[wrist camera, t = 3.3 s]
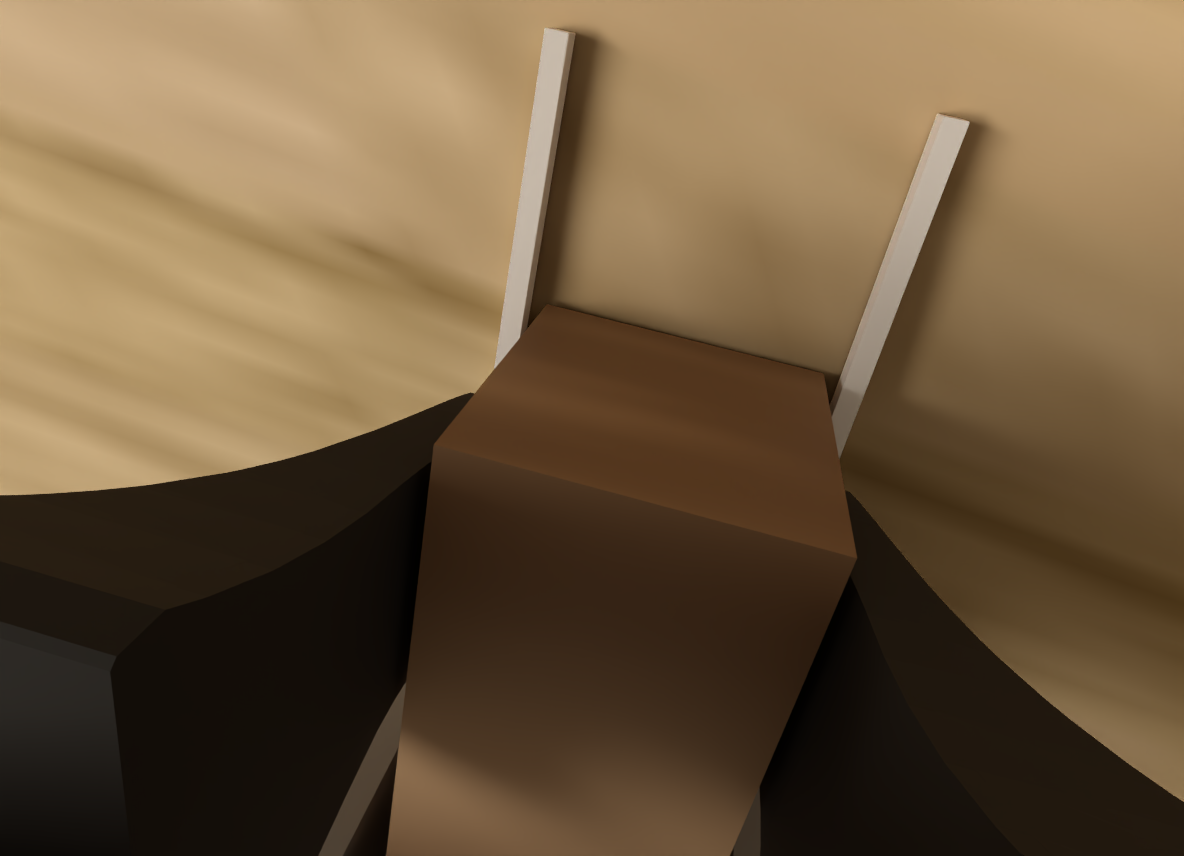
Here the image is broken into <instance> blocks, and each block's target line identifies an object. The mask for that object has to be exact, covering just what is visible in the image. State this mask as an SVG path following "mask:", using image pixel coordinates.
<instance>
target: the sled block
mask: <svg viewBox="0 0 1184 856" xmlns="http://www.w3.org/2000/svg"><path fill="white" fill-rule="evenodd" d="M856 560H857V555H856V549H855V544H854V538H853V533H852V527H851V522H850V516H849V511H848V505H847V500H846V494H845V489H844V483H843V478H842V472H841V467H840V461H839V456H838V450H837V445H836V439H835V434H834V428H833V423H832V417H831V412H830V406H829V401H828V395H827V389H826V384H825V378H824V373H820V372H816V371H812V370H808V369H804V368H800V367H796V366H792V365H788V364H784V363H780V362H776V361H772V360H768V359H764V358H760V357H756V356H752V355H748V354H744V353H740V352H736V351H732V350H728V349H724V348H720V347H716V346H712V345H708V344H704V343H700V342H696V341H692V340H688V339H684V338H680V337H676V336H672V335H668V334H664V333H660V332H656V331H652V330H648V329H644V328H640V327H636V326H632V325H628V324H624V323H620V322H616V321H612V320H608V319H604V318H600V317H596V316H592V315H588V314H584V313H580V312H576V311H572V310H568V309H564V308H560V307H556V306H552V305H548V304H547V305H546V306H545V307H544V308H543V310H542V311H541V312H540V313H539V315H538V316H537V317H536V318H535V320H534V321H533V322H532V323H531V325H530V326H529V327H528V328H527V330H526V331H525V332H524V333H523V335H522V336H521V337H520V338H519V339H518V341H517V342H516V343H515V344H514V346H513V347H512V348H511V349H510V351H509V352H508V353H507V354H506V356H505V357H504V358H503V359H502V361H501V362H500V363H499V364H498V366H497V367H496V368H495V369H494V370H493V372H492V373H491V374H490V375H489V377H488V378H487V379H486V380H485V382H484V383H483V384H482V385H481V387H480V388H479V389H478V390H477V392H476V393H475V394H474V395H473V397H472V398H471V399H470V400H469V401H468V403H467V404H466V405H465V406H464V408H463V409H462V410H461V411H460V413H459V414H458V415H457V416H456V418H455V419H454V420H453V421H452V423H451V424H450V425H449V426H448V427H447V429H446V430H445V431H444V432H443V434H442V435H441V436H440V437H439V439H438V440H437V441H436V442H435V444H434V447H433V455H432V464H431V473H430V481H429V490H428V499H427V507H426V516H425V524H424V533H423V542H422V550H421V559H420V568H419V576H418V585H417V594H416V602H415V611H414V619H413V628H412V637H411V645H410V654H409V663H408V671H407V680H406V688H405V697H404V706H403V714H402V723H401V732H400V740H399V749H398V757H397V766H396V775H395V783H394V792H393V801H392V809H391V818H390V826H389V835H388V844H387V852H386V856H730V854H731V852H732V850H733V847H734V845H735V843H736V840H737V838H738V836H739V833H740V831H741V829H742V826H743V824H744V822H745V819H746V817H747V815H748V812H749V810H750V808H751V805H752V803H753V801H754V798H755V796H756V794H757V791H758V789H759V787H760V784H761V782H762V779H763V777H764V775H765V772H766V770H767V768H768V765H769V763H770V761H771V758H772V756H773V754H774V751H775V749H776V747H777V744H778V742H779V740H780V737H781V735H782V733H783V730H784V728H785V726H786V723H787V721H788V719H789V716H790V714H791V712H792V709H793V707H794V705H795V702H796V700H797V698H798V695H799V693H800V691H801V688H802V686H803V684H804V681H805V679H806V677H807V674H808V672H809V670H810V667H811V665H812V663H813V660H814V658H815V656H816V653H817V651H818V649H819V646H820V644H821V642H822V639H823V637H824V634H825V632H826V630H827V627H828V625H829V623H830V620H831V618H832V616H833V613H834V611H835V609H836V606H837V604H838V602H839V599H840V597H841V595H842V592H843V590H844V588H845V585H846V583H847V581H848V578H849V576H850V574H851V571H852V569H853V567H854V564H855V562H856Z"/></svg>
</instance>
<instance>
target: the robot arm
mask: <svg viewBox="0 0 1184 856" xmlns="http://www.w3.org/2000/svg"><path fill="white" fill-rule="evenodd" d="M473 395H474V393H468V394H465V395H461V396H459V397H456V398H453V399H451V400H448V401H446V402H443V403H441V404H438V405H436V406H434V407H431V408H429V409H426V410H424V411H422V412H419V413H417V414H414V415H412V416H409V417H407V418H404V419H402V420H399V421H397V422H395V423H392V424H390V425H387V426H385V427H382V428H380V429H377V430H374V431H372V432H369V433H366V434H363V435H360V436H357V437H354V438H351V439H348V440H345V441H342V442H340V443H337V444H334V445H331V446H328V447H325V448H322V449H319V450H316V451H313V452H310V453H306V454H303V455H299V456H296V457H292V458H288V459H285V460H281V461H277V462H273V463H268V464H264V465H260V466H256V467H251V468H247V469H243V470H238V471H233V472H228V473H222V474H216V475H210V476H204V477H197V478H191V479H185V480H178V481H172V482H166V483H160V484H153V485H146V486H137V487H127V488H117V489H107V490H97V491H83V492H68V493H54V494H35V495H0V856H319V853H320V851H321V849H322V847H323V845H324V843H325V840H326V838H327V836H328V834H329V832H330V830H331V827H332V825H333V823H334V821H335V819H336V817H337V815H338V812H339V810H340V808H341V806H342V804H343V802H344V799H345V797H346V795H347V793H348V791H349V789H350V787H351V785H352V783H353V781H354V778H355V776H356V774H357V772H358V770H359V768H360V766H361V764H362V762H363V760H364V758H365V756H366V754H367V751H368V749H369V747H370V745H371V743H372V741H373V739H374V737H375V735H376V733H377V731H378V729H379V727H380V725H381V724H382V722H383V720H384V718H385V716H386V715H387V713H388V711H389V709H390V707H391V706H392V704H393V702H394V700H395V699H396V697H397V696H398V694H399V692H400V691H401V689H402V687H403V686H404V684H405V683H406V680H407V671H408V663H409V654H410V645H411V637H412V628H413V619H414V611H415V602H416V594H417V585H418V576H419V568H420V559H421V550H422V542H423V533H424V524H425V516H426V507H427V499H428V490H429V481H430V473H431V464H432V455H433V447H434V444H435V442H436V441H437V440H438V439H439V437H440V436H441V435H442V434H443V432H444V431H445V430H446V429H447V427H448V426H449V425H450V424H451V423H452V421H453V420H454V419H455V418H456V416H457V415H458V414H459V413H460V411H461V410H462V409H463V408H464V406H465V405H466V404H467V403H468V401H469V400H470V399H471V398H472V397H473ZM845 494H846V500H847V505H848V511H849V516H850V522H851V527H852V533H853V538H854V544H855V549H856V555H857V560H856V562H855V564H854V567H853V569H852V571H851V574H850V576H849V578H848V581H847V583H846V585H845V588H844V590H843V592H842V595H841V597H840V599H839V602H838V604H837V606H836V609H835V611H834V613H833V616H832V618H831V620H830V623H829V625H828V627H827V630H826V632H825V634H824V637H823V639H822V642H821V644H820V646H819V649H818V651H817V653H816V656H815V658H814V660H813V663H812V665H811V667H810V670H809V672H808V674H807V677H806V679H805V681H804V684H803V686H802V688H801V691H800V693H799V695H798V698H797V700H796V702H795V705H794V707H793V709H792V712H791V714H790V716H789V719H788V721H787V723H786V726H785V728H784V730H783V733H782V735H781V737H780V740H779V742H778V744H777V747H776V749H775V751H774V754H773V756H772V758H771V761H770V763H769V765H768V768H767V770H766V772H765V775H764V777H763V779H762V782H761V784H760V787H759V789H760V856H1184V802H1183V801H1181V800H1179V799H1178V798H1176V797H1175V796H1173V795H1172V794H1170V793H1169V792H1168V791H1166V790H1165V789H1163V788H1162V787H1160V786H1159V785H1158V784H1156V783H1155V782H1153V781H1152V780H1150V779H1149V778H1148V777H1146V776H1145V775H1143V774H1142V773H1141V772H1139V771H1138V770H1136V769H1135V768H1133V767H1132V766H1131V765H1129V764H1128V763H1126V762H1125V761H1124V760H1122V759H1121V758H1120V757H1118V756H1117V755H1116V754H1115V753H1113V752H1112V751H1111V750H1109V749H1108V748H1107V747H1105V746H1104V745H1103V744H1101V743H1100V742H1099V741H1097V740H1096V739H1095V738H1094V737H1092V736H1091V735H1090V734H1088V733H1087V732H1086V731H1084V730H1083V729H1082V728H1080V727H1079V726H1078V725H1076V724H1075V723H1074V722H1073V721H1071V720H1070V719H1069V718H1068V717H1066V716H1065V715H1064V714H1063V713H1061V712H1060V711H1059V710H1058V709H1057V708H1055V707H1054V706H1053V705H1052V704H1050V703H1049V702H1048V701H1047V700H1046V699H1044V698H1043V697H1042V696H1041V695H1040V694H1039V693H1037V692H1036V691H1035V690H1034V689H1033V688H1032V687H1031V686H1030V685H1028V684H1027V683H1026V682H1025V681H1024V680H1023V679H1022V678H1021V677H1019V676H1018V675H1017V674H1016V673H1015V672H1014V671H1013V670H1012V669H1010V668H1009V667H1008V666H1007V665H1006V664H1005V663H1004V662H1003V661H1001V660H1000V659H999V658H998V657H997V656H996V655H995V654H994V653H993V652H992V651H991V650H990V649H989V648H988V647H987V646H986V645H985V644H983V643H982V642H981V641H980V640H979V639H978V638H977V637H976V636H975V635H974V634H973V632H972V631H971V630H970V629H969V628H968V627H967V626H966V625H965V624H964V623H963V622H962V621H961V620H960V619H959V618H958V617H957V616H956V615H955V614H954V613H953V612H952V611H951V610H950V609H949V607H948V606H947V605H946V604H945V603H944V602H943V601H942V600H941V599H940V598H939V597H938V595H937V594H936V593H935V592H934V591H933V590H932V589H931V588H930V587H929V585H928V584H927V583H926V582H925V581H924V580H923V579H922V577H921V576H920V575H919V574H918V573H917V572H916V570H915V569H914V568H913V567H912V566H911V565H910V563H909V562H908V561H907V560H906V559H905V557H904V556H903V555H902V554H901V553H900V551H899V550H898V549H897V548H896V546H895V545H894V544H893V543H892V542H891V540H890V539H889V538H888V537H887V535H886V534H885V533H884V532H883V530H882V529H881V528H880V527H879V526H878V524H877V523H876V522H875V521H874V519H873V518H872V517H871V516H870V515H869V513H868V512H867V511H866V510H865V508H864V507H863V506H862V505H861V504H860V503H859V502H858V500H857V499H856V498H855V497H854V496H853V495H852V494H851V493H850V492H848V491H845Z"/></svg>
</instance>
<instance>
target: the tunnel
mask: <svg viewBox="0 0 1184 856" xmlns="http://www.w3.org/2000/svg"><path fill="white" fill-rule="evenodd" d="M575 35H576V33H573V32H569V31H564V30H560V29H555V28H545V31H544V37H543V44H542V51H541V57H540V64H539V71H538V78H537V84H536V91H535V98H534V105H533V111H532V118H531V125H530V132H529V138H528V145H527V152H526V158H525V165H524V172H523V179H522V185H521V192H520V199H519V206H518V212H517V219H516V226H515V233H514V239H513V246H512V253H511V260H510V266H509V273H508V280H507V286H506V293H505V300H504V307H503V313H502V320H501V327H500V334H499V340H498V347H497V354H496V361H495V367H494V369H495V368H496V367H497V366H498V364H499V363H500V362H501V361H502V359H503V358H504V357H505V356H506V354H507V353H508V352H509V351H510V349H511V348H512V347H513V346H514V344H515V343H516V342H517V341H518V339H519V338H520V337H521V336H522V335H523V333H524V332H525V331H526V330H527V326H528V320H529V314H530V307H531V301H532V295H533V289H534V283H535V277H536V271H537V265H538V259H539V253H540V247H541V241H542V235H543V229H544V223H545V216H546V210H547V204H548V198H549V192H550V186H551V180H552V174H553V168H554V162H555V156H556V150H557V144H558V138H559V132H560V126H561V119H562V113H563V107H564V101H565V95H566V89H567V83H568V77H569V71H570V65H571V59H572V53H573V47H574V41H575ZM969 123H970V122H969V121H967V120H964V119H961V118H957V117H952V116H948V115H943V114H939V113H937V115H936V118H935V121H934V124H933V126H932V129H931V132H930V134H929V137H928V140H927V143H926V145H925V148H924V151H923V154H922V156H921V159H920V162H919V164H918V167H917V170H916V173H915V175H914V178H913V181H912V183H911V186H910V189H909V192H908V194H907V197H906V200H905V202H904V205H903V208H902V211H901V213H900V216H899V219H898V221H897V224H896V227H895V230H894V232H893V235H892V238H891V240H890V243H889V246H888V249H887V251H886V254H885V257H884V259H883V262H882V265H881V268H880V270H879V273H878V276H877V279H876V281H875V284H874V287H873V289H872V292H871V295H870V298H869V300H868V303H867V306H866V308H865V311H864V314H863V317H862V319H861V322H860V325H859V327H858V330H857V333H856V336H855V338H854V341H853V344H852V346H851V349H850V352H849V355H848V357H847V360H846V363H845V365H844V368H843V371H842V374H841V376H840V379H839V382H838V385H837V387H836V390H835V393H834V395H833V398H832V401H831V404H830V412H831V417H832V423H833V428H834V434H835V439H836V445H837V450H838V456H839V459H840V456H841V453H842V451H843V448H844V446H845V443H846V441H847V438H848V435H849V433H850V430H851V428H852V425H853V423H854V420H855V417H856V415H857V412H858V410H859V407H860V404H861V402H862V399H863V397H864V394H865V392H866V389H867V386H868V384H869V381H870V379H871V376H872V373H873V371H874V368H875V366H876V363H877V361H878V358H879V355H880V353H881V350H882V348H883V345H884V343H885V340H886V337H887V335H888V332H889V330H890V327H891V324H892V322H893V319H894V317H895V314H896V312H897V309H898V306H899V304H900V301H901V299H902V296H903V293H904V291H905V288H906V286H907V283H908V281H909V278H910V275H911V273H912V270H913V268H914V265H915V263H916V260H917V257H918V255H919V252H920V250H921V247H922V244H923V242H924V239H925V237H926V234H927V232H928V229H929V226H930V224H931V221H932V219H933V216H934V213H935V211H936V208H937V206H938V203H939V201H940V198H941V195H942V193H943V190H944V188H945V185H946V182H947V180H948V177H949V175H950V172H951V170H952V167H953V164H954V162H955V159H956V157H957V154H958V152H959V149H960V146H961V144H962V141H963V139H964V136H965V133H966V131H967V128H968V126H969ZM405 688H406V683H405V684H404V686H403V687H402V689H401V691H400V692H399V694H398V696H397V697H396V699H395V700H394V702H393V704H392V706H391V707H390V709H389V711H388V713H387V715H386V716H385V718H384V720H383V722H382V724H381V725H380V727H379V729H378V731H377V733H376V735H375V737H374V739H373V741H372V743H371V745H370V747H369V749H368V751H367V754H366V756H365V758H364V760H363V762H362V764H361V766H360V768H359V770H358V772H357V774H356V776H355V778H354V781H353V783H352V785H351V787H350V789H349V791H348V793H347V795H346V797H345V799H344V802H343V804H342V806H341V808H340V810H339V812H338V815H337V817H336V819H335V821H334V823H333V825H332V827H331V830H330V832H329V834H328V836H327V838H326V840H325V843H324V845H323V847H322V849H321V851H320V853H319V856H386V852H387V844H388V835H389V826H390V818H391V809H392V801H393V792H394V783H395V775H396V766H397V757H398V749H399V740H400V732H401V723H402V714H403V706H404V697H405ZM730 856H760V789H758V791H757V794H756V796H755V798H754V801H753V803H752V805H751V808H750V810H749V812H748V815H747V817H746V819H745V822H744V824H743V826H742V829H741V831H740V833H739V836H738V838H737V840H736V843H735V845H734V847H733V850H732V852H731V854H730Z"/></svg>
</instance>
